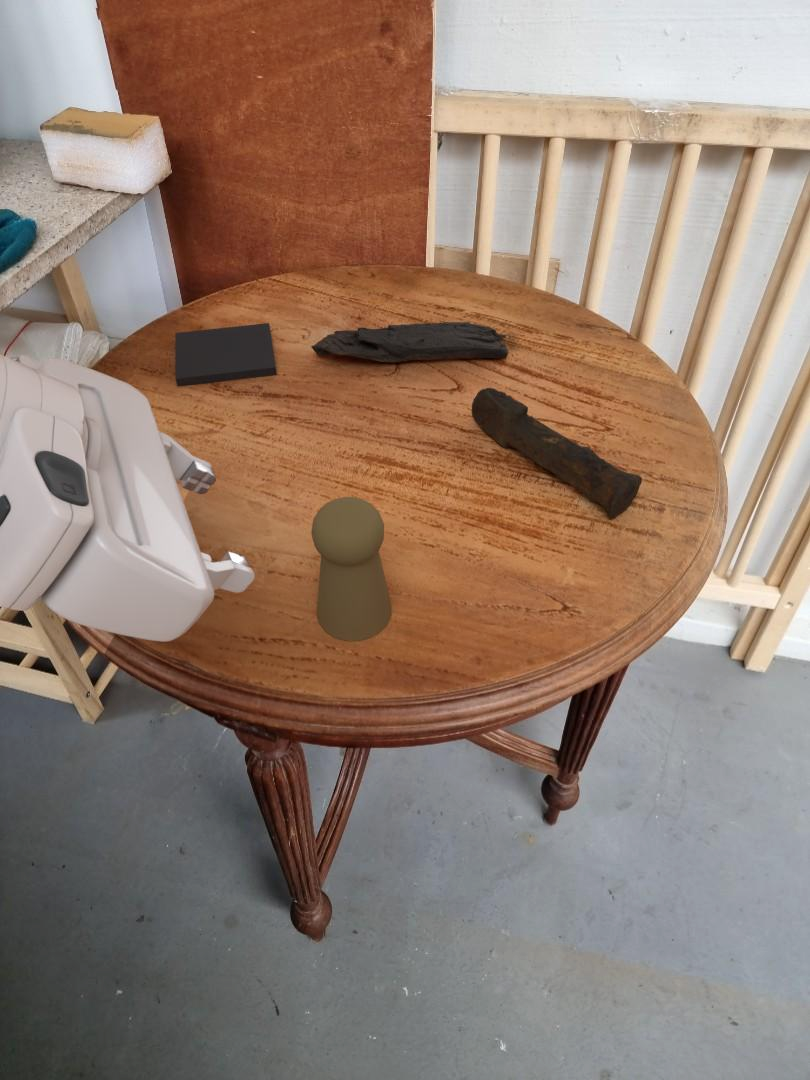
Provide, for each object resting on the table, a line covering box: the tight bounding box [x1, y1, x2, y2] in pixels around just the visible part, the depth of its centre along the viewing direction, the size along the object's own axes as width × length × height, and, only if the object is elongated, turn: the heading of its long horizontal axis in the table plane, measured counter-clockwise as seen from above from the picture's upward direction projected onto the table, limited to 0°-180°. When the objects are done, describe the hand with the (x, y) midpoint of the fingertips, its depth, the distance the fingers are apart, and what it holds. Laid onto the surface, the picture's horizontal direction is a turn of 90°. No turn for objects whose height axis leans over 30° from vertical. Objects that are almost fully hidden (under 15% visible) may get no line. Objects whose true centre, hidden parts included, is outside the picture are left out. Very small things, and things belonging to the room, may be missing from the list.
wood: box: [310, 321, 509, 363], centre depth 87 cm, size 22×7×3 cm, turn 95°
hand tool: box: [471, 387, 643, 520], centre depth 73 cm, size 19×4×5 cm, turn 41°
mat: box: [174, 322, 278, 387], centre depth 86 cm, size 11×9×1 cm
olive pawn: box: [310, 496, 393, 642], centre depth 58 cm, size 6×6×11 cm
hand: (226, 525), depth 50 cm, fingers open, 8 cm apart
